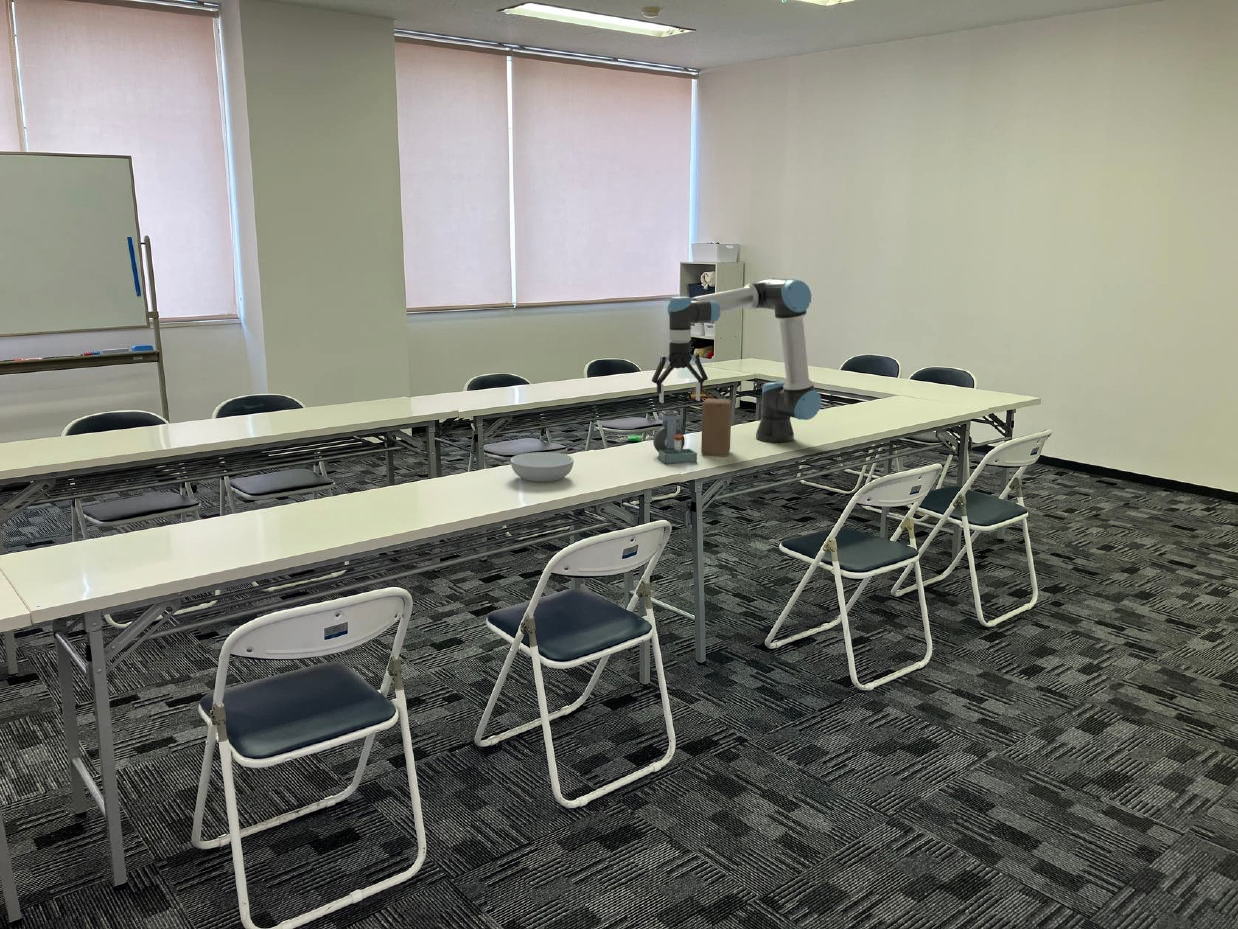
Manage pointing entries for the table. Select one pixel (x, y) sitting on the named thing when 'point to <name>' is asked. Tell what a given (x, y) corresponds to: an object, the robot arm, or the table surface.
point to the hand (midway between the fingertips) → (679, 401)
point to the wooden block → (716, 427)
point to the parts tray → (677, 456)
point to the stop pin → (677, 443)
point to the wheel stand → (667, 431)
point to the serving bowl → (542, 466)
